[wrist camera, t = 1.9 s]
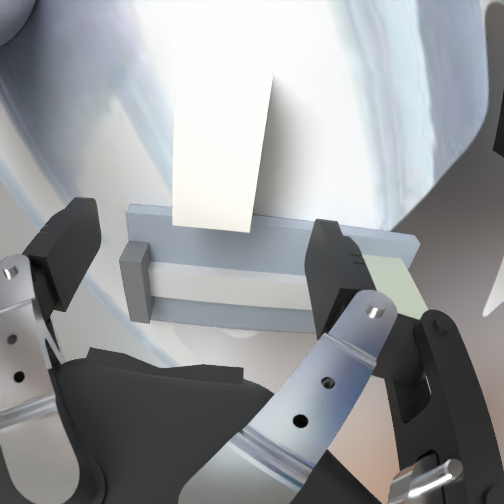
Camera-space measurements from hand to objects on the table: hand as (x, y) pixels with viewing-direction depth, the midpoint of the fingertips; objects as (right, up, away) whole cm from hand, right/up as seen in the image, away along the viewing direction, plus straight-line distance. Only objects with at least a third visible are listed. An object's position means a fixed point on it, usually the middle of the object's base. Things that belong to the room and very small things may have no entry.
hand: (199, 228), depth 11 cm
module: (0, +9, +12) cm, 15 cm away
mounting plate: (+4, -3, +22) cm, 22 cm away
